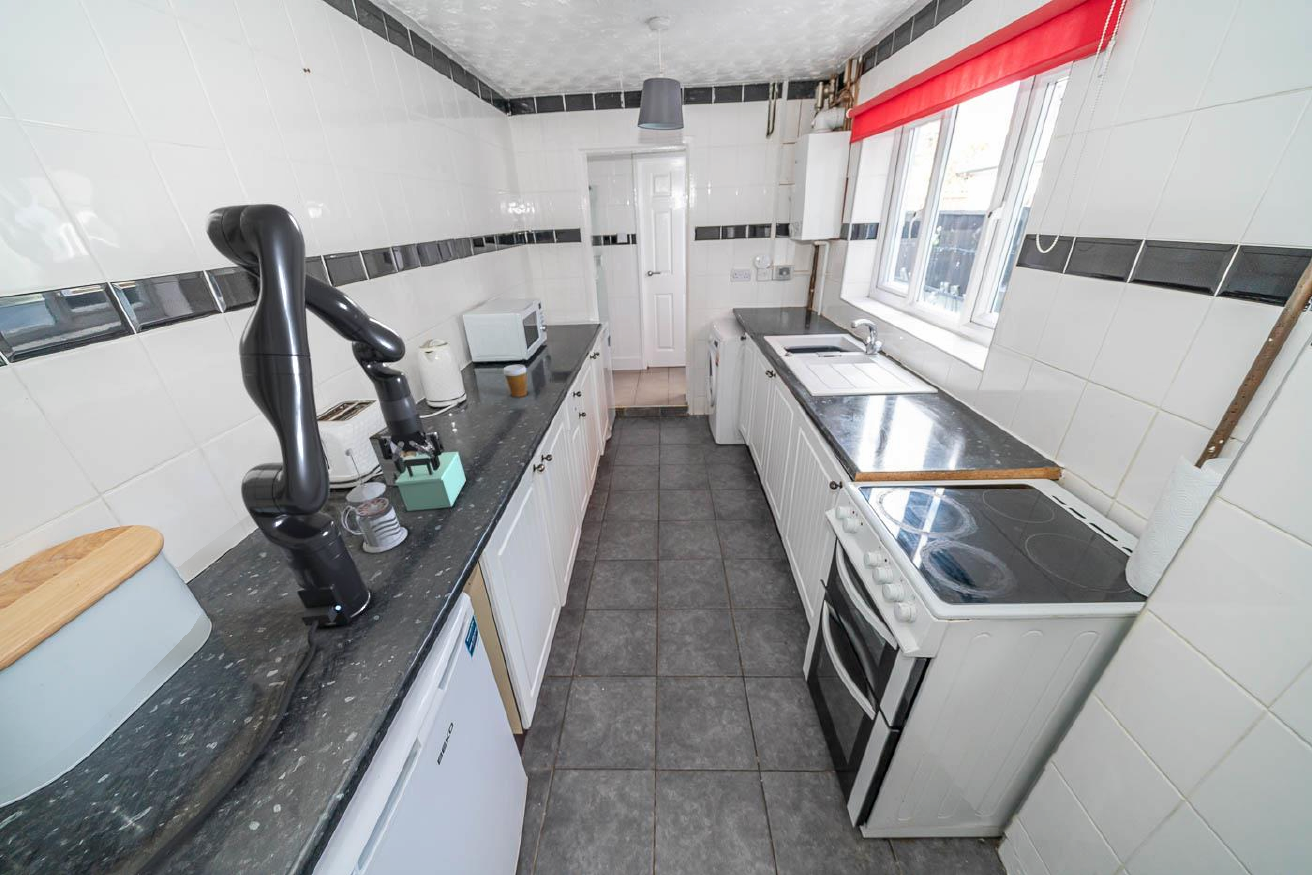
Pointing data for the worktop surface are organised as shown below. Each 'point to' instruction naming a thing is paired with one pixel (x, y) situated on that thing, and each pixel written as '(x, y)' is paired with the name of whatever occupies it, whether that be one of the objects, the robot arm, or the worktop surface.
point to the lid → (426, 469)
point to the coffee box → (388, 465)
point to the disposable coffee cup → (516, 379)
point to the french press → (376, 535)
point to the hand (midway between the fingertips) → (420, 470)
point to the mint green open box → (434, 490)
